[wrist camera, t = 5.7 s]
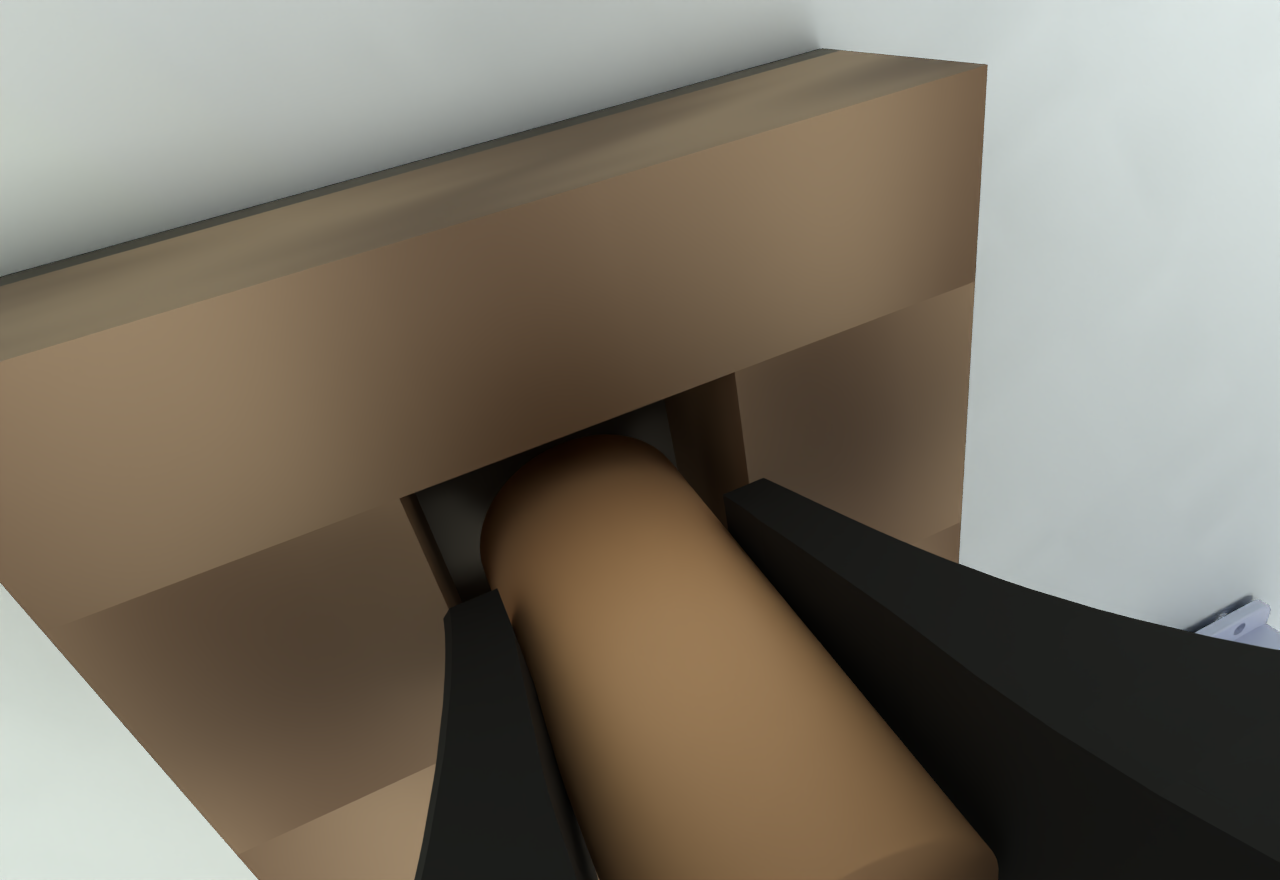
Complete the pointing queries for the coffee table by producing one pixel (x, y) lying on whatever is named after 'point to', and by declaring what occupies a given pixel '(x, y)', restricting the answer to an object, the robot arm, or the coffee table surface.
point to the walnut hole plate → (468, 409)
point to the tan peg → (698, 691)
